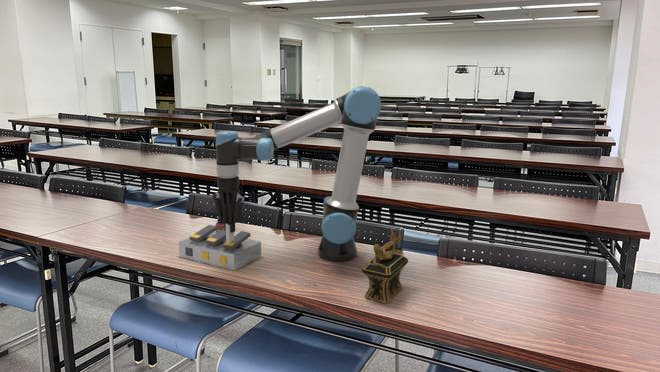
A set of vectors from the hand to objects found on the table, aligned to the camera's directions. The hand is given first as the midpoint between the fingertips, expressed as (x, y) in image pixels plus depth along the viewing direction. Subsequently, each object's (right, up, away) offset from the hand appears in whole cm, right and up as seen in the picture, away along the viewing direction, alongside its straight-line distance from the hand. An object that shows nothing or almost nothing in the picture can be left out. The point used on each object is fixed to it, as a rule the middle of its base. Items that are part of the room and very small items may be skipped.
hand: (230, 240), depth 167 cm
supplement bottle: (-8, -4, +23) cm, 25 cm away
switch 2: (-5, +1, +8) cm, 9 cm away
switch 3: (+2, 0, +4) cm, 4 cm away
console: (-6, -7, +9) cm, 13 cm away
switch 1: (-13, +2, +11) cm, 17 cm away
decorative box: (+54, -15, -17) cm, 59 cm away
